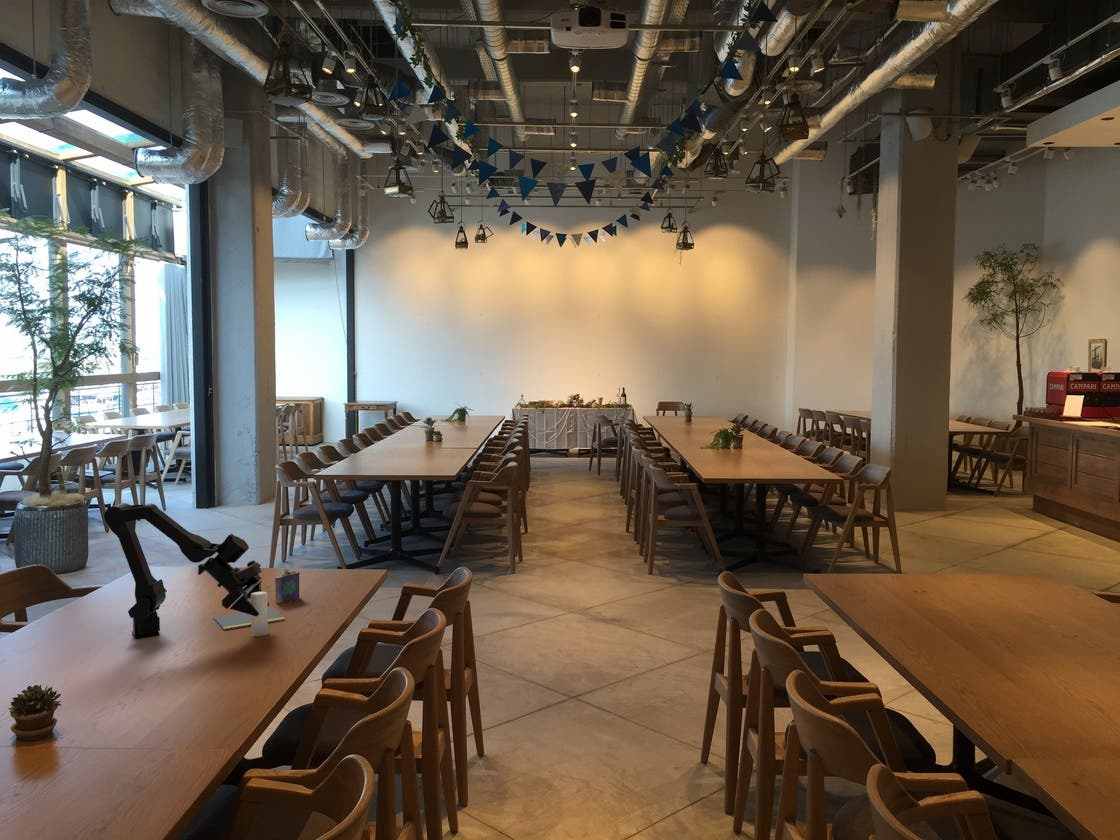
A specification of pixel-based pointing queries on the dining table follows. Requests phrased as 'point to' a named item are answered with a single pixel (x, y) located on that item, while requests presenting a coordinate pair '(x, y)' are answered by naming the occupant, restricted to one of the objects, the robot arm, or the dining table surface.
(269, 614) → the mat
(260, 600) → the skittle
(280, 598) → the flask
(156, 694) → the dining table surface
